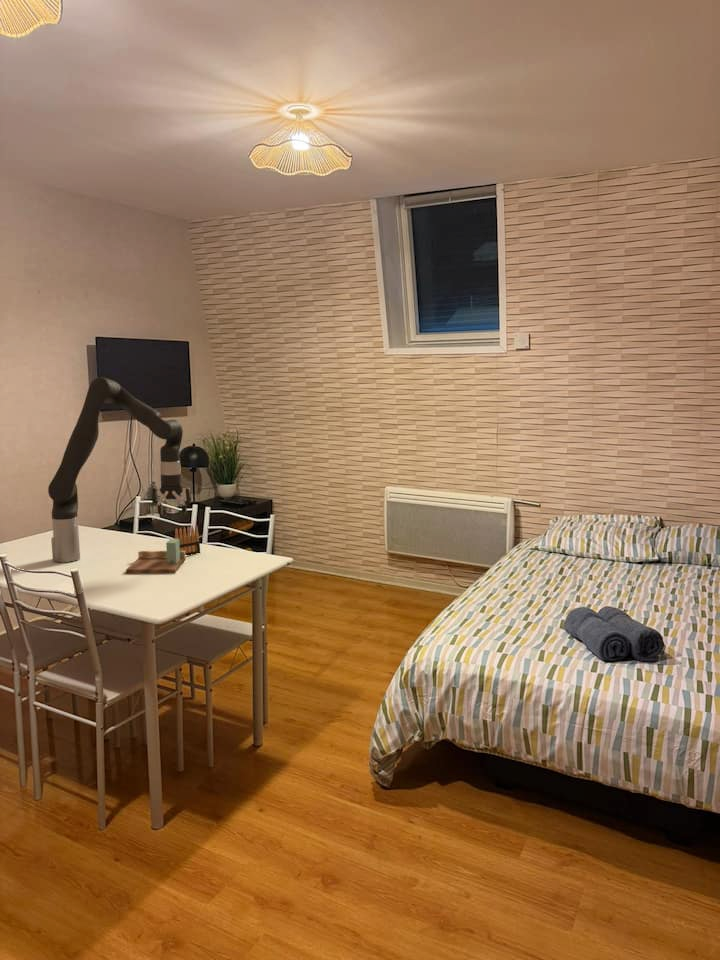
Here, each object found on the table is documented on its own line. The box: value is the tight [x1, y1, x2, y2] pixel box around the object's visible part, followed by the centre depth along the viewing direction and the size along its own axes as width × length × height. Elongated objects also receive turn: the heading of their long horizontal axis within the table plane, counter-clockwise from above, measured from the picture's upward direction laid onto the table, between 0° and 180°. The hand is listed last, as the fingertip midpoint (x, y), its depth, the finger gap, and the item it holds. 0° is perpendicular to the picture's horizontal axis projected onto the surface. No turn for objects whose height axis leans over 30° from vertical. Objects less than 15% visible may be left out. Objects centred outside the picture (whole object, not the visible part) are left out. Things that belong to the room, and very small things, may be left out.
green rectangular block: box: [165, 538, 180, 563], centre depth 259 cm, size 4×7×8 cm, turn 2°
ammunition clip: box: [174, 524, 201, 556], centre depth 273 cm, size 11×2×12 cm, turn 132°
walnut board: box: [125, 550, 186, 574], centre depth 257 cm, size 18×17×4 cm
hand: (172, 514), depth 257 cm, fingers open, 8 cm apart
